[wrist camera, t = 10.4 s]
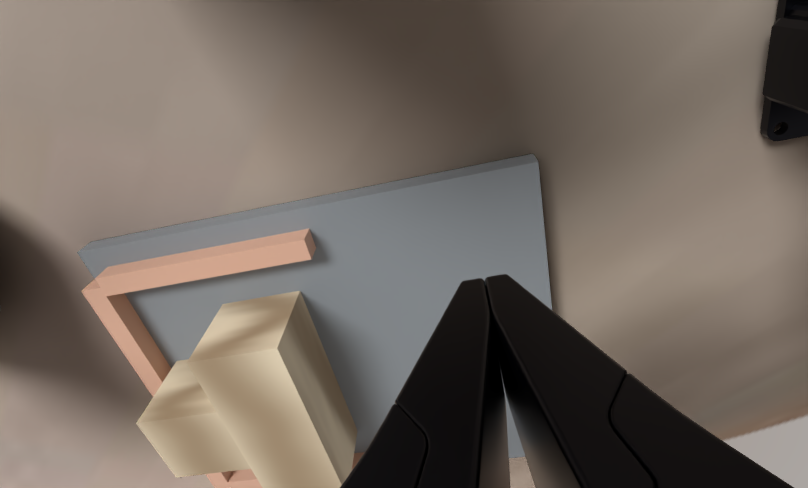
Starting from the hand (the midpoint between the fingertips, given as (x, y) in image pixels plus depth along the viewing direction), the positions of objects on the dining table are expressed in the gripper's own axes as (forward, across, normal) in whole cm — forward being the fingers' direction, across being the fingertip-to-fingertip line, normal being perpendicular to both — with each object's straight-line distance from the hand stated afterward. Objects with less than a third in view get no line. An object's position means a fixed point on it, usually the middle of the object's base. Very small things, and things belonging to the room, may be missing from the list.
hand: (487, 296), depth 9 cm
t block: (+11, +12, +11) cm, 20 cm away
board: (+12, +8, +11) cm, 18 cm away
